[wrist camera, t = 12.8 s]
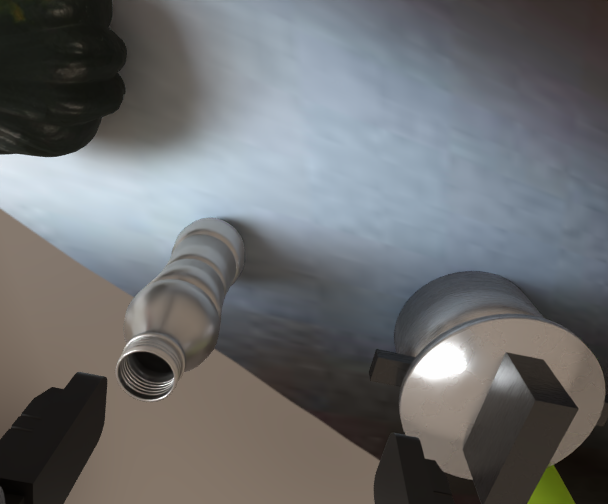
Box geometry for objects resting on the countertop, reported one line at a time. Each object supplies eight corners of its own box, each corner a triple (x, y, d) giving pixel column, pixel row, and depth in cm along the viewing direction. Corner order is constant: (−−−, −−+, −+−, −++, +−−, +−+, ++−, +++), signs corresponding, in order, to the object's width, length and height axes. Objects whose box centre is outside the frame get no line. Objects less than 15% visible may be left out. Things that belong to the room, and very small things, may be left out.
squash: (188, 25, 34) (-77, -90, 22) (118, 203, 40) (-122, 186, 28) (102, -41, 41) (-136, -156, 29) (53, 119, 47) (-162, 77, 35)
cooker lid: (432, 294, 37) (455, 343, 31) (634, 336, 37) (694, 391, 31) (376, 453, 43) (385, 519, 37) (550, 485, 44) (587, 555, 38)
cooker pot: (383, 250, 46) (400, 301, 37) (590, 294, 47) (656, 354, 38) (347, 370, 51) (353, 440, 42) (533, 406, 53) (579, 483, 43)
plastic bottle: (252, 216, 45) (205, 333, 27) (245, 281, 48) (198, 429, 29) (182, 206, 45) (87, 317, 27) (179, 272, 48) (90, 414, 29)
